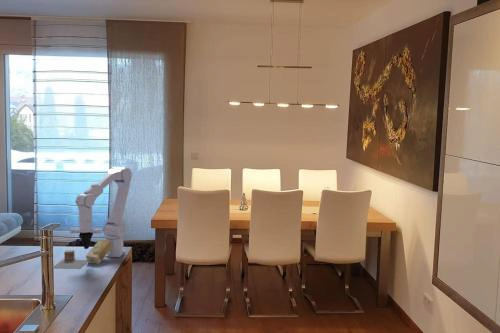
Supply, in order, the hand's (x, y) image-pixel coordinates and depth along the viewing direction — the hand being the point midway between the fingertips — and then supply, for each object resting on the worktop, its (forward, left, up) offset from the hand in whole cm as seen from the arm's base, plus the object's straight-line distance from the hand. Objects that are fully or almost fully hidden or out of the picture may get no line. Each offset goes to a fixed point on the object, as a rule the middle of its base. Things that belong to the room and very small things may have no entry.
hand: (86, 248), depth 222 cm
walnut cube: (-7, -11, -8) cm, 15 cm away
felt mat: (0, -7, -8) cm, 11 cm away
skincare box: (-1, +2, -6) cm, 6 cm away
